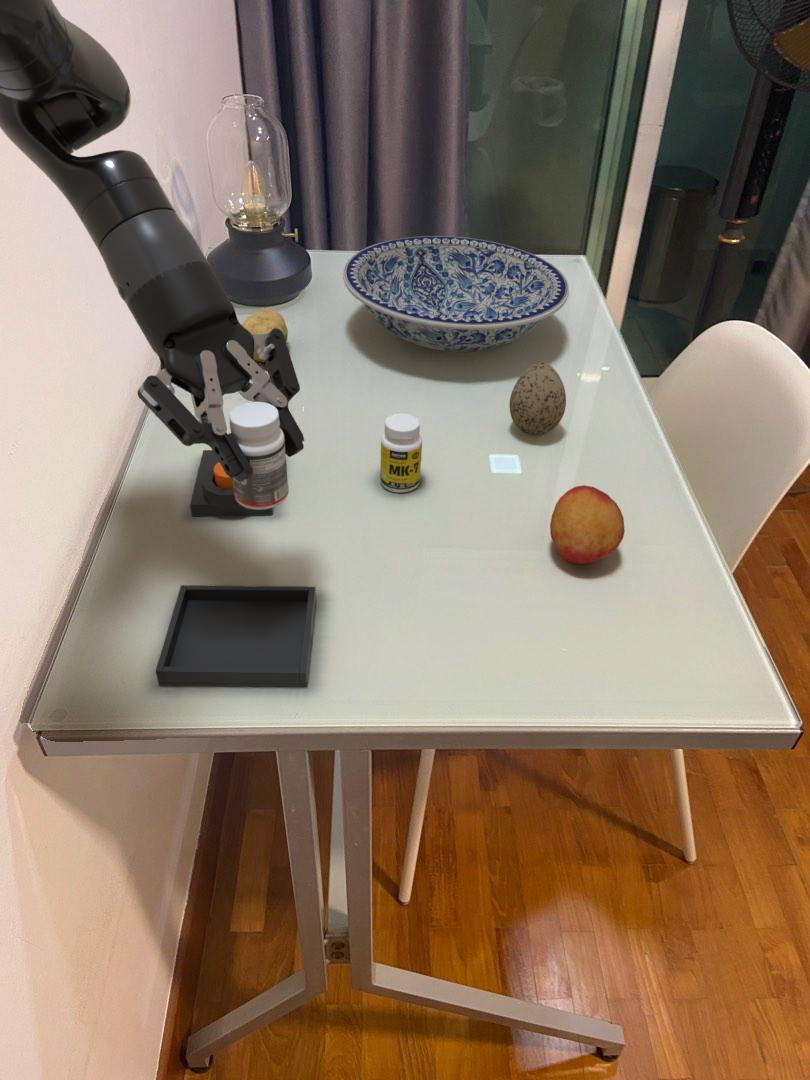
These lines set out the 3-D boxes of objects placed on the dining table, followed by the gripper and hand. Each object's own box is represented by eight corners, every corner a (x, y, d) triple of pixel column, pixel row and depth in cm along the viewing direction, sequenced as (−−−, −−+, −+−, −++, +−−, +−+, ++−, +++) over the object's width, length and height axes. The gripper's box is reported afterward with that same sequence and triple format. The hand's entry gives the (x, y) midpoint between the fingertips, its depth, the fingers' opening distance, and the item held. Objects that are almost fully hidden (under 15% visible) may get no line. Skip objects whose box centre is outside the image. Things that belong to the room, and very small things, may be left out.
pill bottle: (228, 486, 73) (216, 405, 67) (279, 474, 74) (271, 394, 69) (243, 517, 69) (232, 433, 64) (296, 504, 71) (290, 421, 66)
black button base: (272, 519, 92) (269, 494, 89) (191, 520, 91) (186, 495, 89) (278, 460, 101) (276, 436, 98) (204, 461, 100) (201, 437, 98)
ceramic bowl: (559, 397, 114) (570, 331, 108) (321, 374, 118) (318, 308, 112) (561, 300, 141) (570, 242, 134) (367, 283, 144) (366, 225, 138)
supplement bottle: (385, 496, 95) (386, 435, 90) (376, 473, 99) (376, 413, 94) (424, 490, 96) (428, 430, 91) (414, 468, 100) (416, 408, 95)
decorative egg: (494, 429, 107) (502, 360, 101) (532, 412, 111) (541, 344, 105) (534, 453, 103) (545, 382, 97) (572, 434, 107) (584, 365, 101)
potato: (232, 369, 118) (227, 329, 114) (254, 336, 127) (250, 297, 123) (277, 373, 118) (274, 333, 114) (296, 340, 126) (293, 301, 122)
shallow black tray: (158, 685, 73) (155, 671, 71) (183, 598, 81) (180, 584, 80) (306, 686, 73) (305, 672, 72) (316, 600, 82) (315, 586, 80)
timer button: (246, 489, 91) (244, 476, 89) (213, 490, 90) (211, 477, 89) (249, 471, 93) (247, 458, 92) (217, 471, 93) (215, 458, 92)
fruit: (631, 552, 89) (647, 492, 84) (591, 589, 84) (605, 528, 79) (570, 521, 93) (581, 463, 88) (529, 554, 88) (538, 495, 83)
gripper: (98, 285, 60) (217, 488, 61) (254, 238, 68) (355, 419, 69) (78, 329, 66) (186, 512, 67) (223, 281, 74) (316, 446, 75)
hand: (271, 464), depth 68 cm, fingers closed on pill bottle, 4 cm apart
